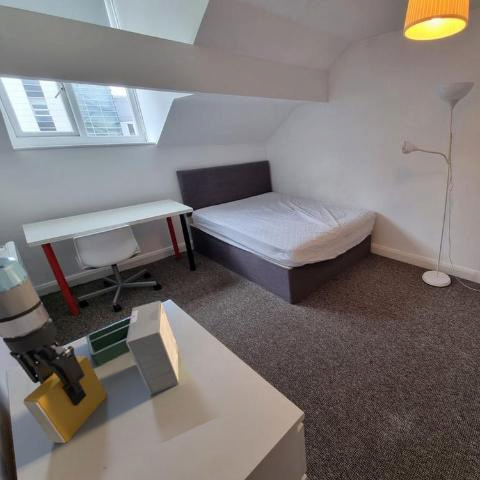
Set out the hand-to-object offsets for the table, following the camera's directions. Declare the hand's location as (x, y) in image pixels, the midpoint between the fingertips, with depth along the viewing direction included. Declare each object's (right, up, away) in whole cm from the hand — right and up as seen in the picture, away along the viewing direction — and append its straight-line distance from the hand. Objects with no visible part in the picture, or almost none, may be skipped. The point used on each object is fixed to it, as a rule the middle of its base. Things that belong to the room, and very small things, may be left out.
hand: (72, 399), depth 67 cm
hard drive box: (+15, 0, +15) cm, 21 cm away
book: (0, -6, +3) cm, 7 cm away
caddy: (-7, +4, +26) cm, 27 cm away
